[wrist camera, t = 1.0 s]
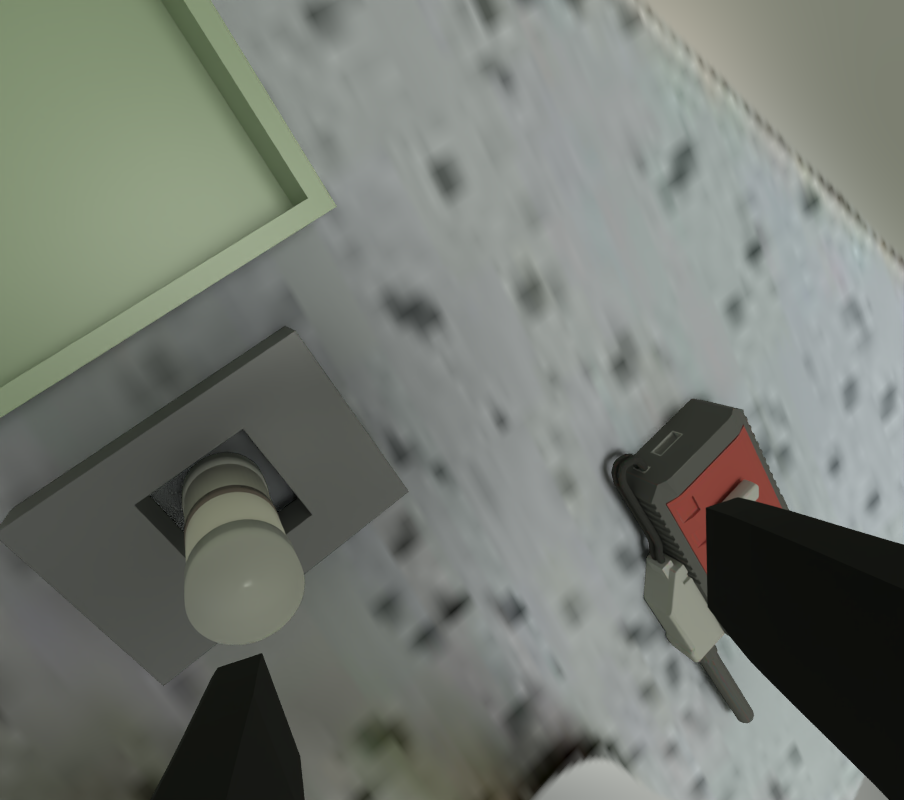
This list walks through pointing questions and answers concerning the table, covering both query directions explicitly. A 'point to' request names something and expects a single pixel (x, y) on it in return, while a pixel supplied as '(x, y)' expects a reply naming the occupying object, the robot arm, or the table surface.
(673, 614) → the red belt-clip case
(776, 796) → the table surface
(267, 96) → the parts tray
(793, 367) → the table surface
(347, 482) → the fuse block
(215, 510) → the cylinder
